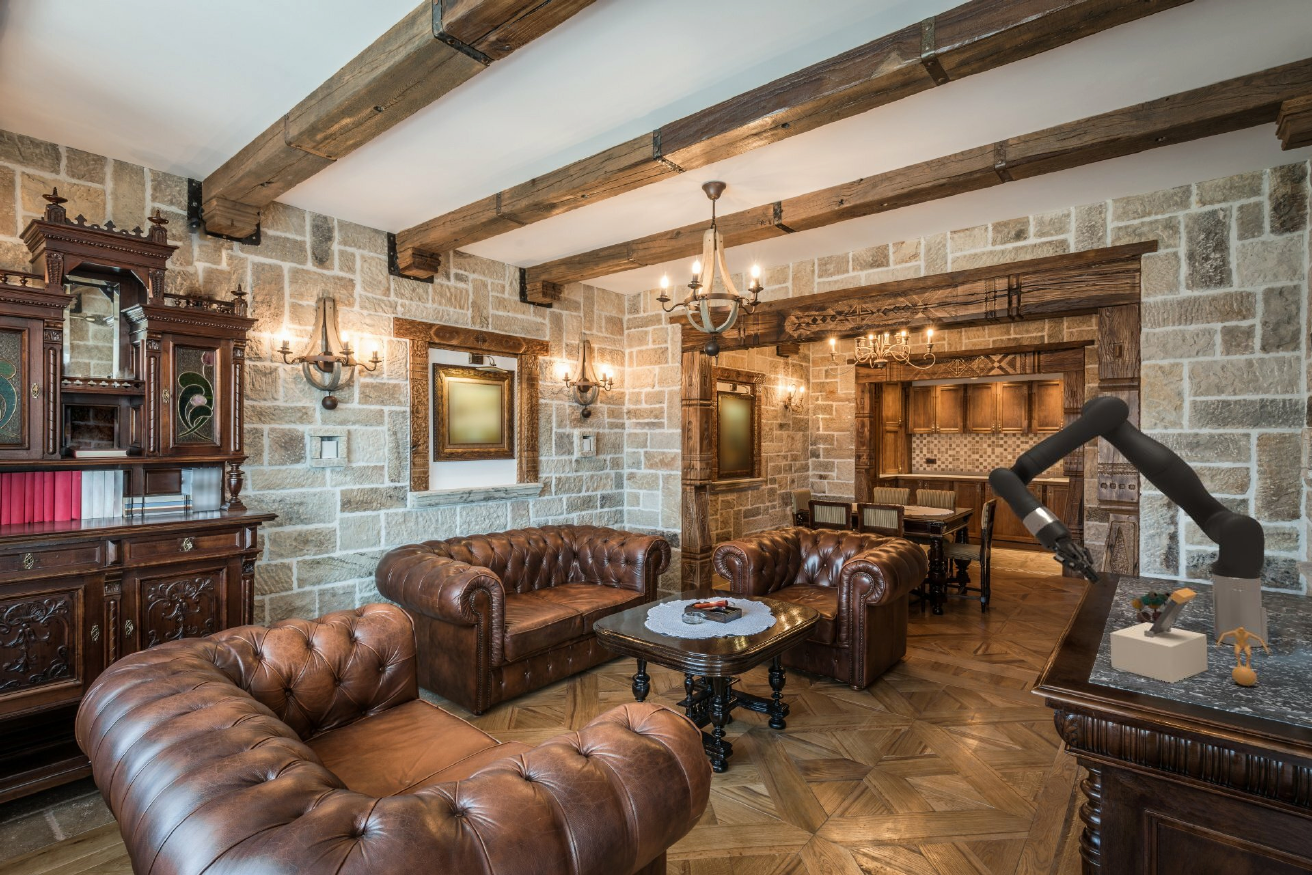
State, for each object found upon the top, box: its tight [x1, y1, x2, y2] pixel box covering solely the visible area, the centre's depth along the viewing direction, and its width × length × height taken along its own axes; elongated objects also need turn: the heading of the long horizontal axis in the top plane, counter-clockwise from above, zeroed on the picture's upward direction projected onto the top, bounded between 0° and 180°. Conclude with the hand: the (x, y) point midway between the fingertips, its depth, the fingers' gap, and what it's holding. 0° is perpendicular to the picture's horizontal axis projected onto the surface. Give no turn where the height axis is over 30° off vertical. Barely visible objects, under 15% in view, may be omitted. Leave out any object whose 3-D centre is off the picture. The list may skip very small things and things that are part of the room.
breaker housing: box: [1110, 622, 1209, 684], centre depth 146 cm, size 12×16×9 cm
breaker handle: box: [1149, 587, 1197, 635], centre depth 143 cm, size 2×6×12 cm, turn 118°
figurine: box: [1216, 627, 1270, 687], centre depth 136 cm, size 8×6×12 cm
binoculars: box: [1131, 590, 1178, 627], centre depth 178 cm, size 9×9×10 cm
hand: (1098, 581), depth 157 cm, fingers closed
